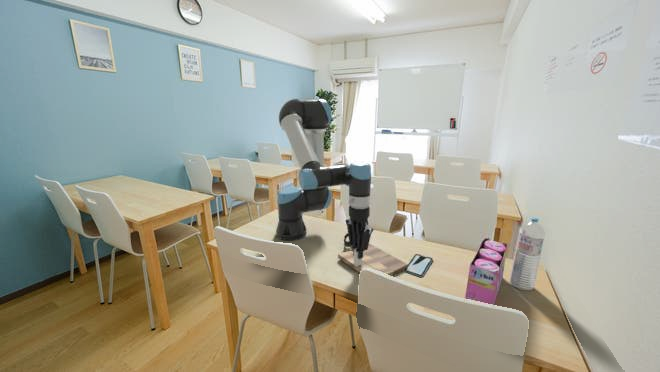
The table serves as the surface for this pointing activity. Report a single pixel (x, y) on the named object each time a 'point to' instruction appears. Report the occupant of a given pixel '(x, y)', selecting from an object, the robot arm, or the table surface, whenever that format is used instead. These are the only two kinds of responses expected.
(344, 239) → the pottery mug
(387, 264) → the floor boards
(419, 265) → the smartphone
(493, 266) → the gum box
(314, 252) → the table surface
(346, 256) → the plank
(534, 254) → the water bottle
